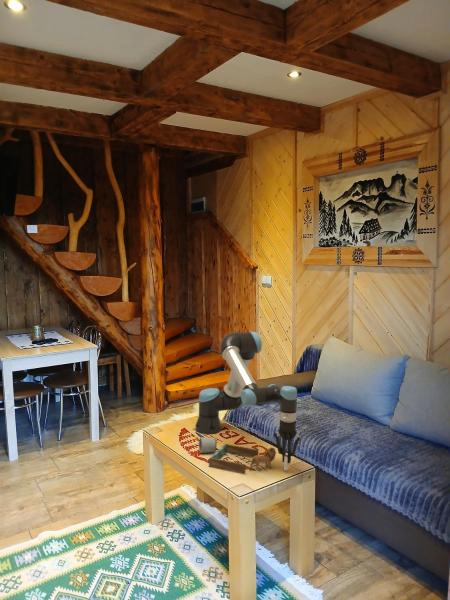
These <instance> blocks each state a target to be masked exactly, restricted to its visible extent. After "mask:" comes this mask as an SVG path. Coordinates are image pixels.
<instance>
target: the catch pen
mask: <svg viewBox="0 0 450 600" xmlns="http://www.w3.org/2000/svg"><path fill="white" fill-rule="evenodd" d="M226 454H232V455H235V456H236V455H238V456H243V457H248V458H251V459H253V457H254V456H256V455H259V449H256V448H250V447H244V446H239V445H233V444H229V443H224V445H222V446H221V447H220V448H219V449H218V450H217V451H215V452H214V453H213V454H212V455H211V456H210V457H209V458H208V467H209V468H215V469H219V470H223V471H227V472H233V473H239V474H246V464H245V463H240V462H235V461H229V460H226V459H221V458H223V457H224V456H225V455H226Z"/></svg>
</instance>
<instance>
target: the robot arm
mask: <svg viewBox="0 0 450 600" xmlns="http://www.w3.org/2000/svg"><path fill="white" fill-rule="evenodd" d="M262 343H263V342H262V339H261V337H260V335H259V333H258V332H255V331H247V332H246V331H243V332H229V333H227V334H225V335H224V337H222V339H221V341H220V343H219V352H220V355H221V358H222V359H223V360H225V361H226V363H227V365H228V366H229V368H230V370H231V371H230V374H229V378H228V380H227V381H228V382H227V383H226V384H225V385H223V389H222V390H219V388H216V387H210V388H209V387H208V388H204V389H203V390H201V391H200V392H199V393H198V394H199V395H198V417H197V420H196V423H195V431H196V432H197V433H200V434H205V435H213V434H217V433H220V432H221V431H222V423H221V419H220V415H219V414H220V412H221V411H223V412H224V411H230V410H231V411H233V410H239V409H241V408H242V407H243V406H244V405H245V406H254V405H255V406H256V405H261V404H270V403H276V404H279V428H278V431H274V433H273V436H274V439H275V442H276V447H277V451H278V454H279V455H281V456H282V457H281V462H282V463H283V470H284V471H288V470H289V464H291V461H292V457H294V456H295V455H296V451H297V448H298V445H299V442H300V440H301V438H302V436H301V435H299V434H298V432H297V430H296V429H297V421H296V420H297V403H298V402H297V401H298V390H297V387H295V386H292V385H283V386H281V385H278V384H276V383H275V384H274V383H273V384H272V383H271V384H269V385H267V386H264V387H259V386H258V384H257V383H256V381H255V379H254V376H252V374H251V372H250V370H249V366H250V361H252V360H253V359H255V356H256V354H259V353H261V351H262V348H263V346H262V345H263V344H262ZM280 437H281V438H280ZM294 438H295V441H294V445H292V444H293V443H292V441H293V439H294ZM281 440H282V441H281Z"/></svg>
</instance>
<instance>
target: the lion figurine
mask: <svg viewBox="0 0 450 600" xmlns="http://www.w3.org/2000/svg"><path fill="white" fill-rule="evenodd" d="M276 454H277V451H276V448H274V447H269V448H268V449H267V451H266V453H265V454H263V455H259V454H258V455H256V456H254V457H253V458H251V462H250V467H249V471H251V470H253V465H255V468H256V470H257V471H259V472H260V471H261V468H259V465H260V464H264V466H265V467H266V468H268V469H269V470H272V467H271V465H272V462H273V461H274V460H275V458H276Z"/></svg>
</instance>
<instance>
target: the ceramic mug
mask: <svg viewBox="0 0 450 600" xmlns="http://www.w3.org/2000/svg"><path fill="white" fill-rule="evenodd" d="M198 450H199V453H200V454H206V453H207V454H208V453H216V452H217V451H216V450H217V439H216V438H215V437H199V440H198Z"/></svg>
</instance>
